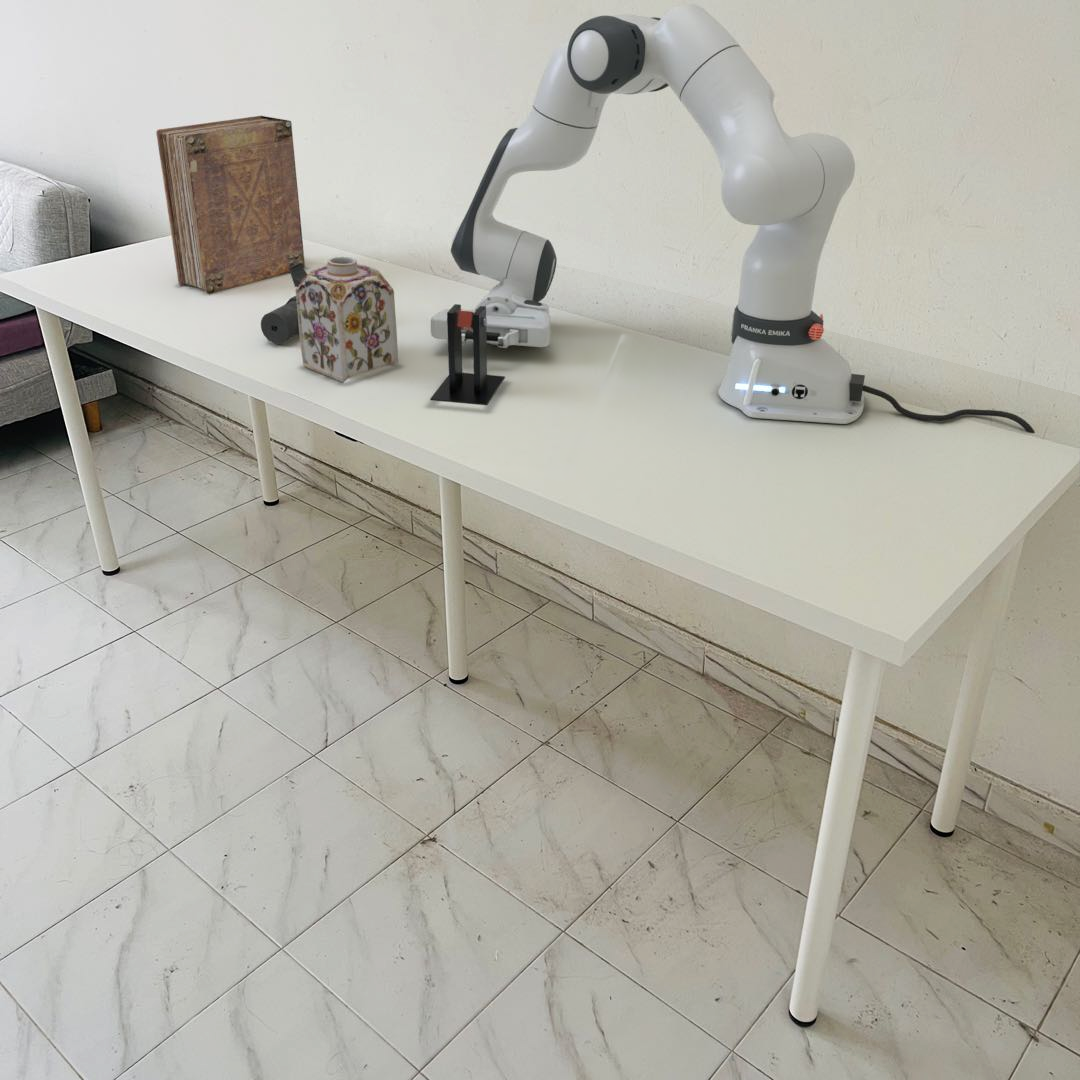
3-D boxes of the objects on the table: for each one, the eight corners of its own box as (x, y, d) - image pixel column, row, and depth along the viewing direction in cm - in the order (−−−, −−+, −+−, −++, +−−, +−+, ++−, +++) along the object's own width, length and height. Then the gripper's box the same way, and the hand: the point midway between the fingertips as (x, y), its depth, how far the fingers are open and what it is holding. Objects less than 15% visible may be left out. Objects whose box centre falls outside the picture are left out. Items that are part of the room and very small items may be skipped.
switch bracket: (451, 378, 178) (448, 295, 172) (504, 383, 177) (504, 300, 170) (430, 406, 168) (426, 319, 161) (486, 411, 167) (485, 324, 160)
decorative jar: (300, 367, 182) (289, 259, 173) (355, 350, 190) (348, 246, 181) (345, 385, 175) (336, 274, 166) (401, 367, 183) (395, 260, 174)
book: (205, 294, 217) (183, 135, 202) (178, 285, 222) (154, 130, 207) (305, 268, 234) (291, 119, 219) (278, 260, 239) (262, 115, 224)
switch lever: (466, 342, 179) (468, 328, 179) (499, 345, 178) (500, 330, 178) (446, 325, 166) (448, 309, 166) (481, 328, 165) (483, 312, 165)
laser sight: (252, 341, 193) (246, 286, 188) (320, 306, 211) (316, 254, 206) (300, 349, 190) (294, 293, 185) (365, 312, 208) (361, 260, 203)
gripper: (441, 296, 189) (419, 317, 177) (557, 304, 186) (543, 327, 174) (441, 331, 192) (420, 354, 180) (556, 340, 189) (541, 365, 177)
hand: (481, 341), depth 177 cm, fingers closed on switch lever, 5 cm apart
